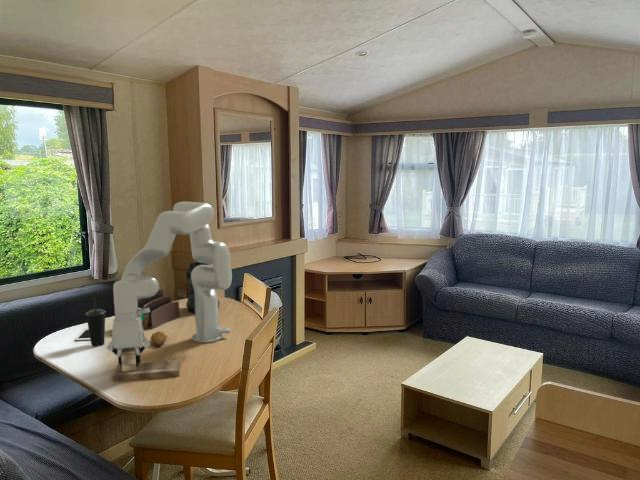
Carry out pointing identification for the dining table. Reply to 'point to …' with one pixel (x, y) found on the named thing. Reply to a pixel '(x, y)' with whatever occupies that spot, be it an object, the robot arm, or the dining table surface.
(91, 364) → the dining table surface
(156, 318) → the letter holder
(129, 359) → the block
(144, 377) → the walnut board
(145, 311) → the food container
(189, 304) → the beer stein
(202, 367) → the dining table surface
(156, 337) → the croissant
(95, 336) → the drinking cup
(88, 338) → the cell phone
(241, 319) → the dining table surface
